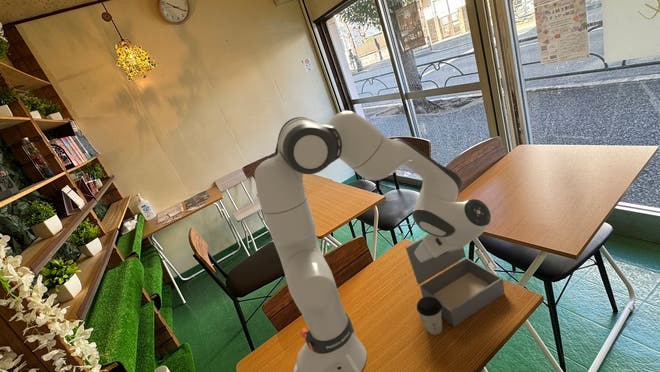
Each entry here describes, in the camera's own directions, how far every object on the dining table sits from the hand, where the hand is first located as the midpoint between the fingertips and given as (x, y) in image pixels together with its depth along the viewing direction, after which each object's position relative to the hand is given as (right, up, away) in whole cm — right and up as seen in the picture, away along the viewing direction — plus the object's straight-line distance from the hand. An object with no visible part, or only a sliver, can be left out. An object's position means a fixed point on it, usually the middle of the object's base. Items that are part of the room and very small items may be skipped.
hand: (437, 248), depth 101 cm
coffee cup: (-4, -22, -9) cm, 24 cm away
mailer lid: (0, -2, +1) cm, 2 cm away
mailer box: (+7, -15, -2) cm, 17 cm away
